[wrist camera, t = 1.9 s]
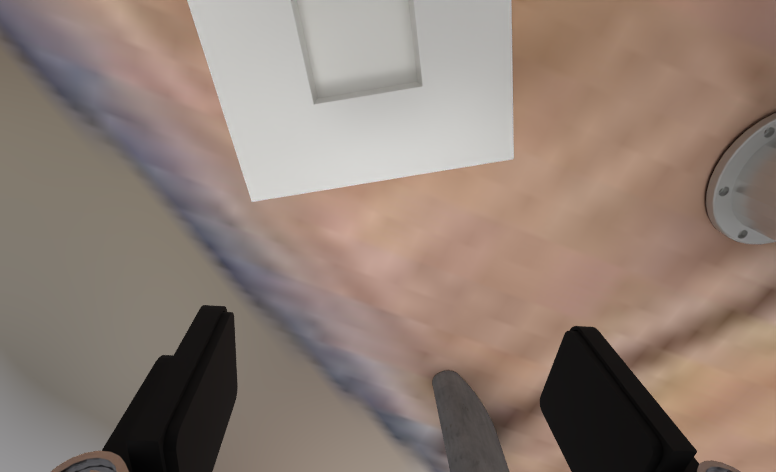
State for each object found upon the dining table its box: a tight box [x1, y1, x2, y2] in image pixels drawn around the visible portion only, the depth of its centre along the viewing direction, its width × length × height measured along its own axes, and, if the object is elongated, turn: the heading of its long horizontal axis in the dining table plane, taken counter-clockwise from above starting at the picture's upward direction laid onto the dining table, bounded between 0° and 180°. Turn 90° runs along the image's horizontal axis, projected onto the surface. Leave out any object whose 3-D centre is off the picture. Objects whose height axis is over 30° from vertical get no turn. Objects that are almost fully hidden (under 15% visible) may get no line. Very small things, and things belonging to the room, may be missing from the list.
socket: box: [187, 0, 514, 202], centre depth 28 cm, size 20×20×5 cm
